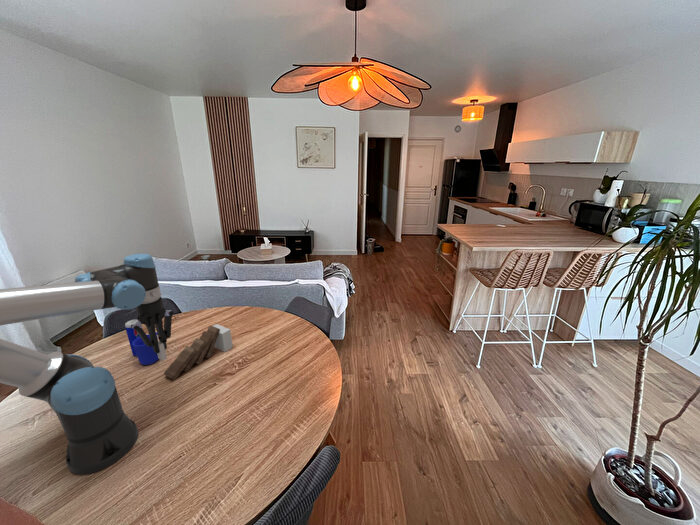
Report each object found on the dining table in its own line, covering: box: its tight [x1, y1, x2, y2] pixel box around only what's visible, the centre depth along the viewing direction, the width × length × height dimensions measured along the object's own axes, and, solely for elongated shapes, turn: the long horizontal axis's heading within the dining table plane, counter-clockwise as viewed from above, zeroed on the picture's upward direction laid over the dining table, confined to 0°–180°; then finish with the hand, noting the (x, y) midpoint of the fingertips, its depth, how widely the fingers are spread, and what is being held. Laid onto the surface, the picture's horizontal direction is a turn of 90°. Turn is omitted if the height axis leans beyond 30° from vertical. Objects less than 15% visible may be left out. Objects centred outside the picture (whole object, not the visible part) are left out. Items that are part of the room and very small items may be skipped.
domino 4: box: [204, 325, 220, 359], centre depth 118 cm, size 2×5×12 cm
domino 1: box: [163, 345, 197, 381], centre depth 108 cm, size 2×5×12 cm
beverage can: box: [124, 318, 140, 357], centre depth 117 cm, size 5×5×15 cm
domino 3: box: [193, 330, 215, 365], centre depth 115 cm, size 2×5×12 cm
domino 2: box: [182, 337, 207, 372], centre depth 112 cm, size 2×5×12 cm
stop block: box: [212, 323, 234, 353], centre depth 123 cm, size 4×9×9 cm, turn 61°
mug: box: [132, 331, 160, 366], centre depth 115 cm, size 8×12×10 cm
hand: (162, 358), depth 102 cm, fingers closed
